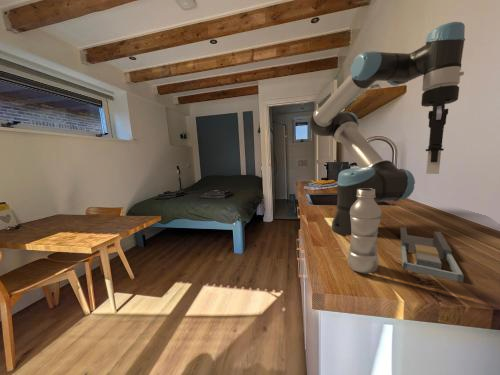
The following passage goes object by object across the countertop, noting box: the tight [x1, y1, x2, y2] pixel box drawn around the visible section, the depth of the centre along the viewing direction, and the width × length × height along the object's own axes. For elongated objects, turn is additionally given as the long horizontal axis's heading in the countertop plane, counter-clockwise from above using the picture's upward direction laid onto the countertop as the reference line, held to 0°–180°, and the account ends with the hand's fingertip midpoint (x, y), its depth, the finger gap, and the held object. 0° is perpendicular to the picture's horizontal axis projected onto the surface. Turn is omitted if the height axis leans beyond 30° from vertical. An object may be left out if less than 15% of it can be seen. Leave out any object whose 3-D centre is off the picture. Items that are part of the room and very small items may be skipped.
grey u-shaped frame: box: [400, 246, 465, 283], centre depth 49 cm, size 10×11×2 cm
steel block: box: [414, 252, 442, 270], centre depth 48 cm, size 4×4×3 cm
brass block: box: [413, 244, 439, 257], centre depth 51 cm, size 4×4×3 cm
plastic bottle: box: [346, 188, 382, 275], centre depth 48 cm, size 6×7×20 cm
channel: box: [399, 226, 453, 260], centre depth 59 cm, size 10×15×3 cm, turn 145°
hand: (432, 173), depth 59 cm, fingers closed
